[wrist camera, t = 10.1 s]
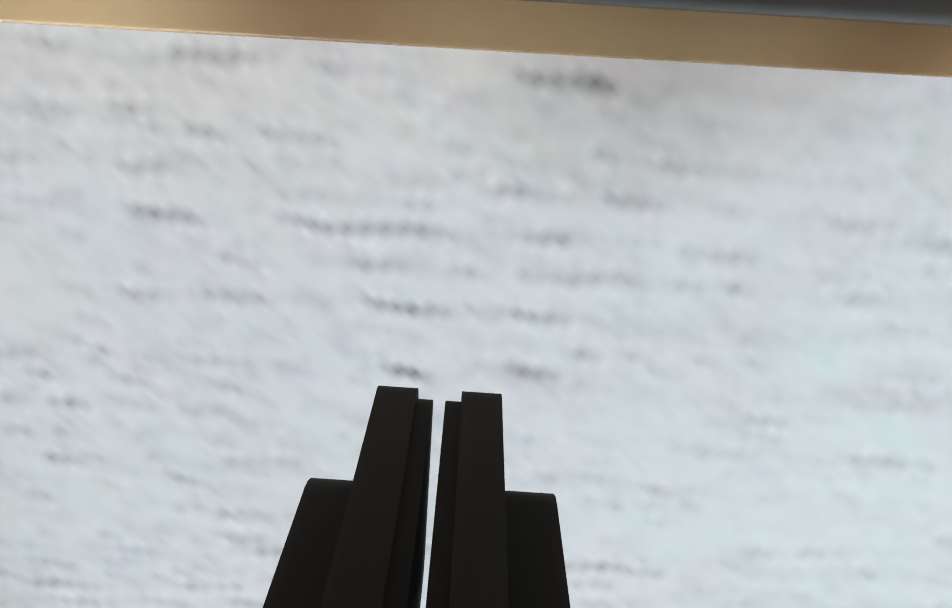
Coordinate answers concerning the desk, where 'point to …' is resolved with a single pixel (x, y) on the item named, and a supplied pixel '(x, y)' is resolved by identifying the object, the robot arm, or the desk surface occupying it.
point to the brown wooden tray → (564, 27)
